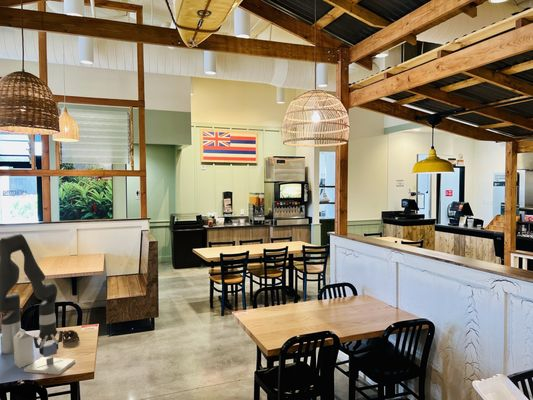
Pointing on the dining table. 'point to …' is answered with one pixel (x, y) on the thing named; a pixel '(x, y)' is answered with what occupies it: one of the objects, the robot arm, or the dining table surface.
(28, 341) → the milk carton
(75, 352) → the dining table surface
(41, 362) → the shaft plate
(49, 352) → the blue-grey block
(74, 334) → the dark brown rounded lump
